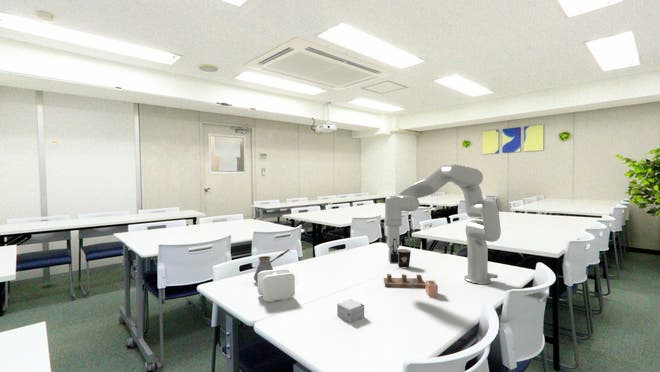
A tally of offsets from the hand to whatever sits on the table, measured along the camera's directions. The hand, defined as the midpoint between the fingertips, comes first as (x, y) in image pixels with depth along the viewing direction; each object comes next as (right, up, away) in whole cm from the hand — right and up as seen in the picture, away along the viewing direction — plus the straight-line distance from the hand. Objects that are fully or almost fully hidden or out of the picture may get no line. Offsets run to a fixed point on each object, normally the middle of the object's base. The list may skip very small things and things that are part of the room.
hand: (393, 260), depth 145 cm
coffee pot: (-61, -16, +21) cm, 66 cm away
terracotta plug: (+17, -16, -2) cm, 23 cm away
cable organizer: (-55, -16, -4) cm, 57 cm away
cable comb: (+8, -15, +13) cm, 21 cm away
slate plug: (0, -1, 0) cm, 1 cm away
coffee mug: (+14, -15, +45) cm, 50 cm away
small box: (-22, -16, -24) cm, 37 cm away
